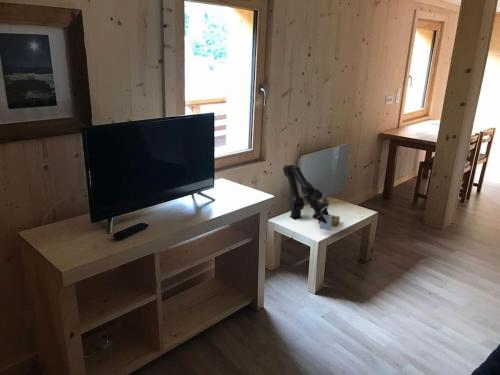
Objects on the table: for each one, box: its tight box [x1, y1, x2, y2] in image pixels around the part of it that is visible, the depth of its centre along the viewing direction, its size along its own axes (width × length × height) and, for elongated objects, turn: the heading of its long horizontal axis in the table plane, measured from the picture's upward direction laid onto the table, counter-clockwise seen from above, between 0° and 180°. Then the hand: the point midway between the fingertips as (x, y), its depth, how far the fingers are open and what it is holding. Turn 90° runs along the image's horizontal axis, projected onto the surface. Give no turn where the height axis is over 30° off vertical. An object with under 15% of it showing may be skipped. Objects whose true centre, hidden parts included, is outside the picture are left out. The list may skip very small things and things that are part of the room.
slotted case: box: [318, 214, 341, 228], centre depth 287 cm, size 13×8×4 cm, turn 67°
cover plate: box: [319, 214, 332, 231], centre depth 277 cm, size 7×2×10 cm, turn 67°
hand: (328, 220), depth 276 cm, fingers open, 9 cm apart
